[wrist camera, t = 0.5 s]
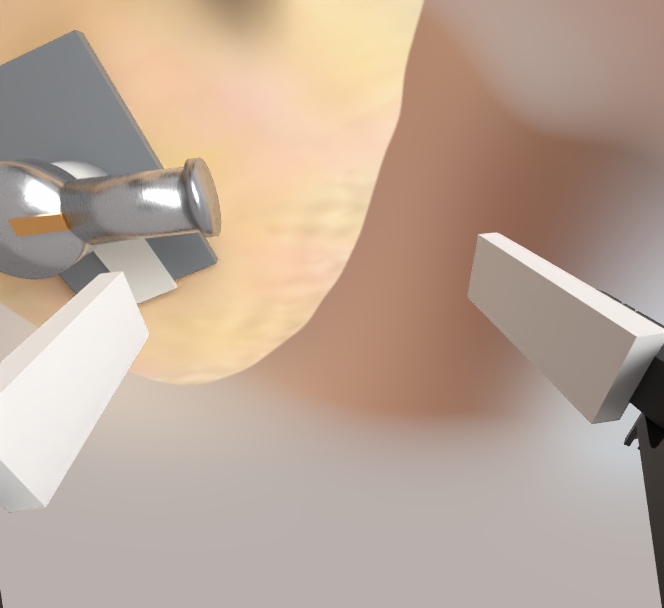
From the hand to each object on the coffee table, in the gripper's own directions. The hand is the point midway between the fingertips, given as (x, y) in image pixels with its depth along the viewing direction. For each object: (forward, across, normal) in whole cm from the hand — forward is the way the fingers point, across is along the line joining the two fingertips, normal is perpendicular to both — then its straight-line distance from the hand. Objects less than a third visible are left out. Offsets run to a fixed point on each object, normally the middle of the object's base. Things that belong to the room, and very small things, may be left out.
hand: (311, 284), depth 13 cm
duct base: (+26, -21, 0) cm, 33 cm away
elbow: (+20, -16, 0) cm, 26 cm away
